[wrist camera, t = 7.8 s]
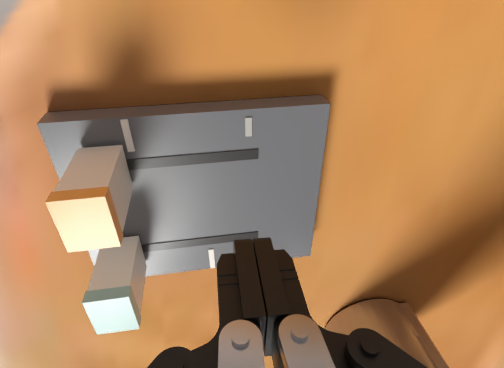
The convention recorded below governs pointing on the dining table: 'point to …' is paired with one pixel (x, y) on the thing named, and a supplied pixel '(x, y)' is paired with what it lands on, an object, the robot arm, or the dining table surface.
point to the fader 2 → (117, 288)
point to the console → (207, 173)
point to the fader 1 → (92, 199)
